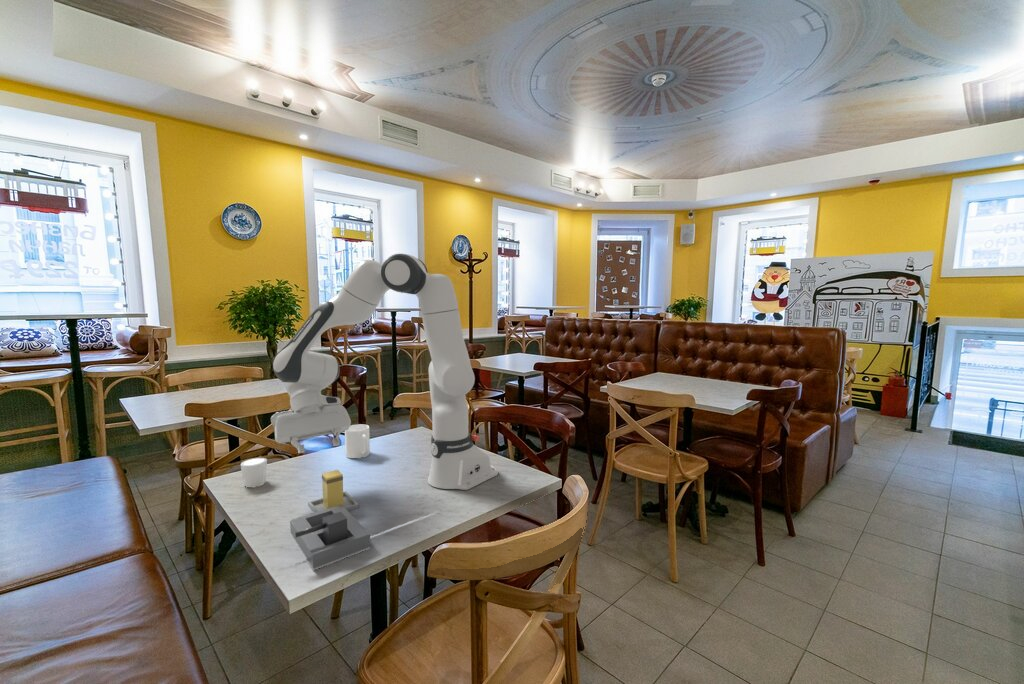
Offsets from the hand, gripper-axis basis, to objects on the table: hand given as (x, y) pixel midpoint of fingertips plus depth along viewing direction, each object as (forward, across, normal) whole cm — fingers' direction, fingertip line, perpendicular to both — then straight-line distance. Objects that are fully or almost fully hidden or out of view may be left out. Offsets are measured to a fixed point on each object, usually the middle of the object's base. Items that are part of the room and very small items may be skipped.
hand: (319, 448), depth 119 cm
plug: (+17, 0, +2) cm, 17 cm away
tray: (+17, 0, +2) cm, 17 cm away
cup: (-6, +20, +26) cm, 33 cm away
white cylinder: (-5, -13, +24) cm, 28 cm away
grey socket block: (+28, -6, -8) cm, 30 cm away
